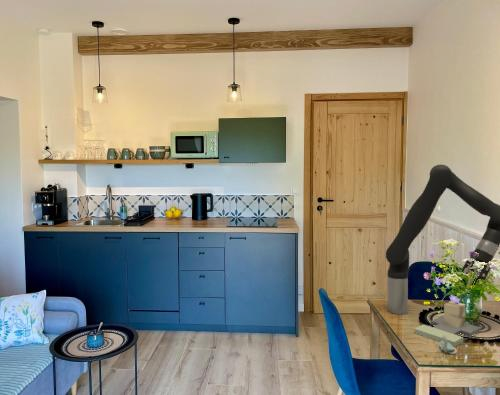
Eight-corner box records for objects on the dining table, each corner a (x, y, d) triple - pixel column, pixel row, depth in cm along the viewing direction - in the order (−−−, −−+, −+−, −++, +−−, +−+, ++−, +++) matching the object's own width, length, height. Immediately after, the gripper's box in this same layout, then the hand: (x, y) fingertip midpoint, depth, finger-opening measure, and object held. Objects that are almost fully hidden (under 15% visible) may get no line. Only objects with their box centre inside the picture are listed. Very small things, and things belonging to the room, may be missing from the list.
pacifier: (454, 347, 157) (438, 345, 159) (455, 332, 156) (438, 330, 158) (459, 356, 150) (441, 354, 152) (459, 340, 149) (442, 338, 151)
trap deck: (441, 320, 184) (441, 315, 183) (480, 331, 170) (480, 327, 170) (414, 333, 170) (414, 328, 170) (454, 347, 157) (454, 342, 157)
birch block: (451, 320, 178) (451, 300, 177) (464, 324, 173) (465, 304, 172) (444, 324, 174) (444, 303, 174) (458, 328, 169) (458, 307, 169)
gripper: (467, 246, 181) (450, 277, 180) (487, 249, 166) (469, 284, 166) (481, 254, 181) (465, 285, 180) (503, 258, 167) (484, 292, 166)
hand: (467, 284), depth 173 cm, fingers open, 8 cm apart
